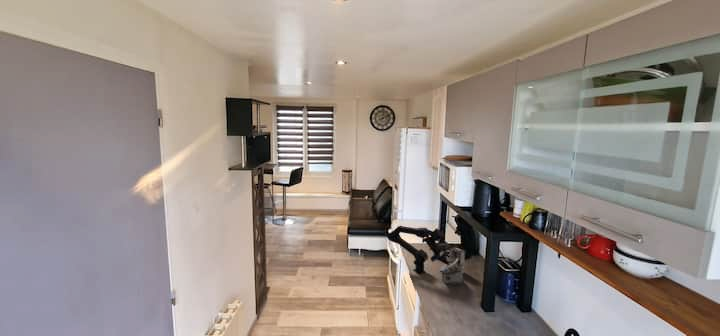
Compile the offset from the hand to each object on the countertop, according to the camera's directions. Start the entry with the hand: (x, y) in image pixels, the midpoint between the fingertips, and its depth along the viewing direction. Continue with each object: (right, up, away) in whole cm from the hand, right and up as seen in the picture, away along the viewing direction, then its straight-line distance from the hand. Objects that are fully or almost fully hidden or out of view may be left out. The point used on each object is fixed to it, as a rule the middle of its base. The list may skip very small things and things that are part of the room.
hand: (447, 264), depth 193 cm
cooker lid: (+1, 0, -1) cm, 1 cm away
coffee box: (+10, -10, +13) cm, 19 cm away
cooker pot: (+2, -11, 0) cm, 11 cm away
